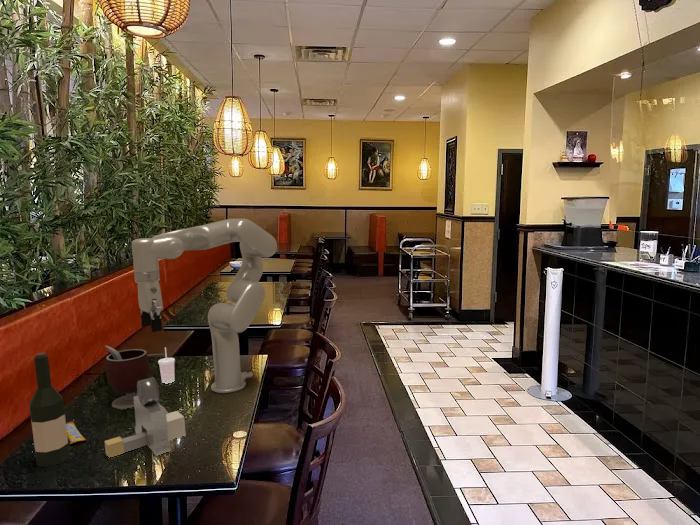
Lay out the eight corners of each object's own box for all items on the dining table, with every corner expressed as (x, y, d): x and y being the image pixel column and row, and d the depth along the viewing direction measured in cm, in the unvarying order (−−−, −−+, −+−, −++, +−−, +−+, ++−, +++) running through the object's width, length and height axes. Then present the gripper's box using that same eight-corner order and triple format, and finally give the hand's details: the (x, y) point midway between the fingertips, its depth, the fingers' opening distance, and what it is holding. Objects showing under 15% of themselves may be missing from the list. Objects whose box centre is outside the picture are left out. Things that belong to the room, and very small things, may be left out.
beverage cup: (180, 381, 198) (177, 346, 196) (166, 386, 193) (163, 350, 191) (169, 378, 201) (166, 344, 200) (156, 383, 196) (153, 348, 194)
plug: (178, 429, 156) (176, 410, 155) (185, 436, 152) (184, 416, 151) (104, 453, 143) (102, 432, 142) (110, 460, 139) (108, 439, 138)
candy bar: (59, 429, 161) (59, 423, 160) (74, 424, 163) (73, 419, 163) (70, 448, 148) (70, 442, 147) (86, 443, 150) (86, 437, 150)
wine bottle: (45, 470, 135) (32, 360, 131) (29, 462, 139) (16, 356, 135) (76, 456, 142) (64, 351, 138) (60, 449, 146) (48, 347, 142)
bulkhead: (148, 429, 157) (143, 369, 155) (171, 451, 142) (165, 386, 140) (135, 433, 155) (129, 372, 152) (156, 456, 140) (150, 390, 138)
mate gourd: (160, 395, 184) (155, 341, 182) (134, 411, 171) (129, 353, 168) (124, 392, 188) (119, 339, 186) (96, 408, 175) (90, 351, 173)
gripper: (168, 278, 160) (172, 331, 162) (150, 272, 174) (154, 322, 176) (143, 281, 155) (148, 335, 158) (127, 275, 169) (131, 326, 171)
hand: (151, 328), depth 167 cm, fingers open, 9 cm apart
